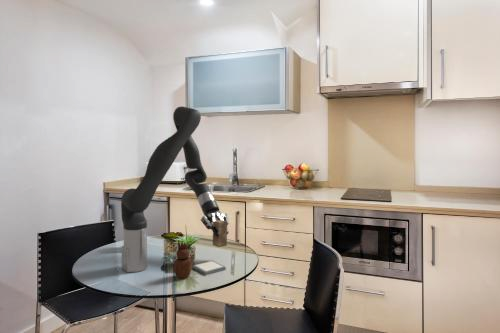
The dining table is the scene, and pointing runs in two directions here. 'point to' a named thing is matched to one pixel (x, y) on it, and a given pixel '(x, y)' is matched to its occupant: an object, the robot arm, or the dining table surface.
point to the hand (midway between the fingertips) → (222, 234)
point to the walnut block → (220, 233)
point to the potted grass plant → (182, 262)
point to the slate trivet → (209, 267)
